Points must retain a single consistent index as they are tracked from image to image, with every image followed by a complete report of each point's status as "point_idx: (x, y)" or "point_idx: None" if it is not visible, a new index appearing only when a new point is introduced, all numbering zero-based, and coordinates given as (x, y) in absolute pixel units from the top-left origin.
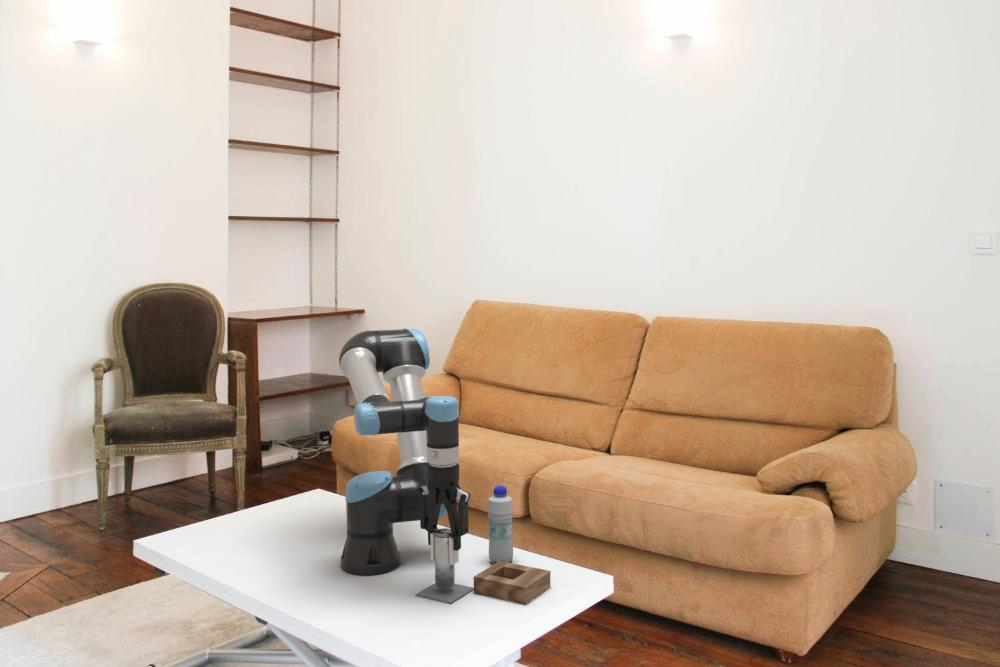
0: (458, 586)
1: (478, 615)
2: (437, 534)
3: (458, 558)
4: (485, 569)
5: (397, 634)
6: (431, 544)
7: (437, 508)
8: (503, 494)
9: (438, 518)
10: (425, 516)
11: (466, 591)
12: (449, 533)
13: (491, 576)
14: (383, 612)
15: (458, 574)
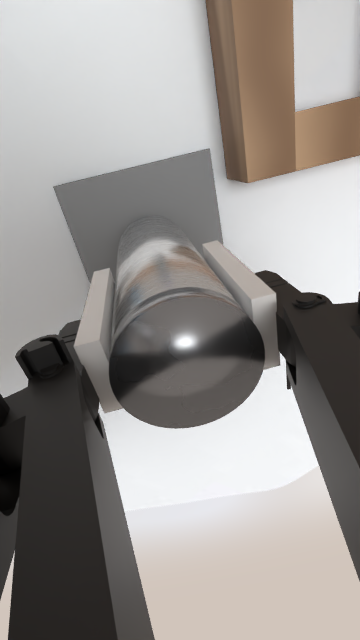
0: (155, 182)
1: (330, 286)
2: (193, 424)
3: (221, 245)
4: (237, 62)
5: (241, 445)
6: None
7: (138, 636)
8: None
9: (85, 429)
10: (3, 545)
11: (210, 198)
12: (254, 369)
13: (310, 123)
14: (137, 421)
15: (28, 52)
